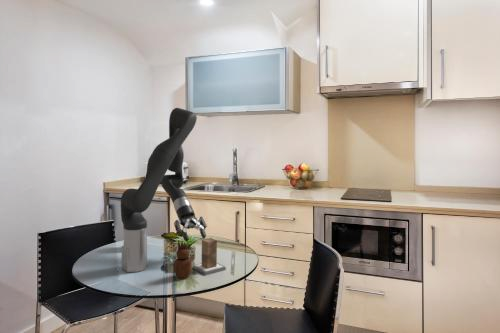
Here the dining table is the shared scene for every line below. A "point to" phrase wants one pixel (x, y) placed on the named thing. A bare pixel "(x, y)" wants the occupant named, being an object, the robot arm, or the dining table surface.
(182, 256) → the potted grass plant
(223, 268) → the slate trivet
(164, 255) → the dining table surface
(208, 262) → the walnut block
